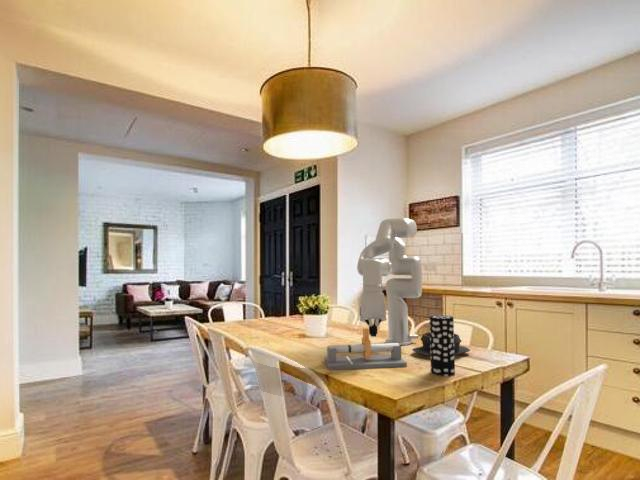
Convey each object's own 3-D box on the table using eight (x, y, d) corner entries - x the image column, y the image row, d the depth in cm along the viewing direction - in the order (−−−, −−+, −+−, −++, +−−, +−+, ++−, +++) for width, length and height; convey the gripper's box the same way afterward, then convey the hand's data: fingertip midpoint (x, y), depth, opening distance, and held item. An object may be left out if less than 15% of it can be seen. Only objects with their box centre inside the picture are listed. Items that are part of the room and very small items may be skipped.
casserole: (453, 347, 182) (452, 329, 182) (480, 357, 164) (479, 336, 165) (404, 351, 175) (404, 332, 175) (427, 362, 157) (426, 340, 158)
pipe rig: (395, 357, 164) (395, 339, 165) (406, 366, 150) (406, 346, 151) (324, 360, 161) (324, 341, 161) (329, 369, 147) (328, 349, 148)
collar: (366, 354, 160) (366, 327, 160) (370, 359, 153) (370, 330, 153) (361, 354, 159) (361, 327, 160) (365, 359, 152) (365, 330, 153)
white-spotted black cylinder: (428, 369, 146) (427, 315, 147) (451, 369, 146) (449, 315, 147) (434, 376, 138) (432, 318, 139) (458, 376, 137) (456, 318, 138)
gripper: (387, 288, 162) (388, 333, 161) (352, 289, 160) (352, 334, 160) (393, 290, 155) (394, 337, 154) (356, 290, 153) (356, 338, 152)
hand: (373, 335), depth 157 cm, fingers closed
